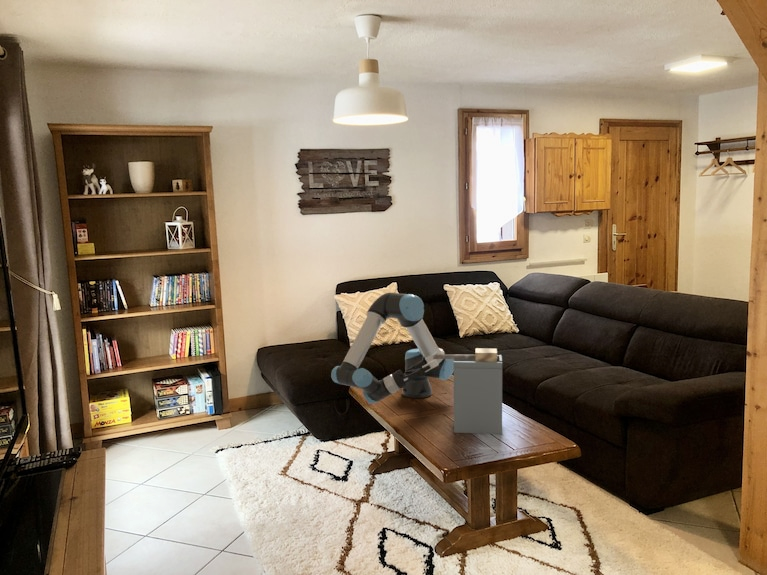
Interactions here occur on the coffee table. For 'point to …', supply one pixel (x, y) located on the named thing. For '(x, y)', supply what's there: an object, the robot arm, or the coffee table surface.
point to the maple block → (479, 356)
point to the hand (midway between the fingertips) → (438, 358)
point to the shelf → (478, 396)
